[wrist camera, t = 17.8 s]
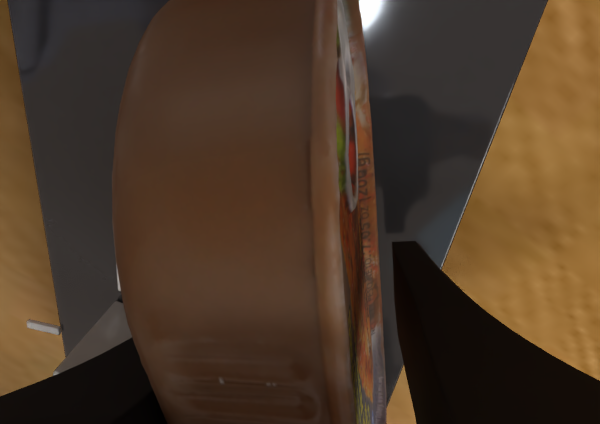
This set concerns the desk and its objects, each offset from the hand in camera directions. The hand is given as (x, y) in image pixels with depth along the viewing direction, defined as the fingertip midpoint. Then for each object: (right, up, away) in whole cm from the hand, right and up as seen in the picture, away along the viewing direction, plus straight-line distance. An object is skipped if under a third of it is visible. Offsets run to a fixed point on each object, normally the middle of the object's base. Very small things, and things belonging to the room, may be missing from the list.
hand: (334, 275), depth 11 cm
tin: (0, +1, +2) cm, 2 cm away
